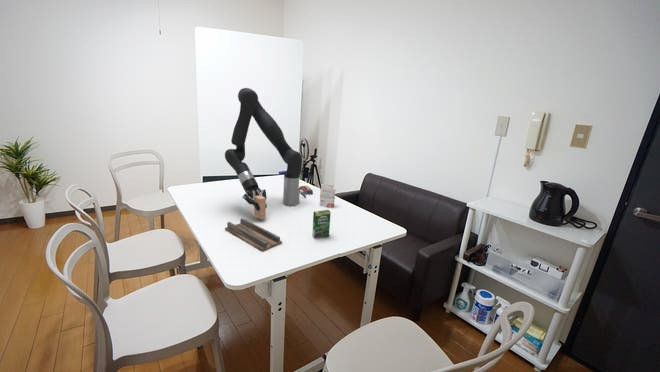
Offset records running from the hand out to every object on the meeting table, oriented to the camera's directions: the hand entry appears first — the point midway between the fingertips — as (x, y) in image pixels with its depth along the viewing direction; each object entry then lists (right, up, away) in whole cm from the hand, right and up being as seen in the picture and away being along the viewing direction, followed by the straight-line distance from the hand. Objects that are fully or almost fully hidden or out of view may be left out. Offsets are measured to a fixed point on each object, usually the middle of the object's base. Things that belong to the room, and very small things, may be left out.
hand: (262, 208), depth 150 cm
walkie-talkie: (+18, +6, +53) cm, 56 cm away
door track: (-1, -12, -15) cm, 19 cm away
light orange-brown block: (-2, -4, +3) cm, 5 cm away
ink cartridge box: (+33, -1, +32) cm, 46 cm away
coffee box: (+30, -13, -9) cm, 34 cm away
